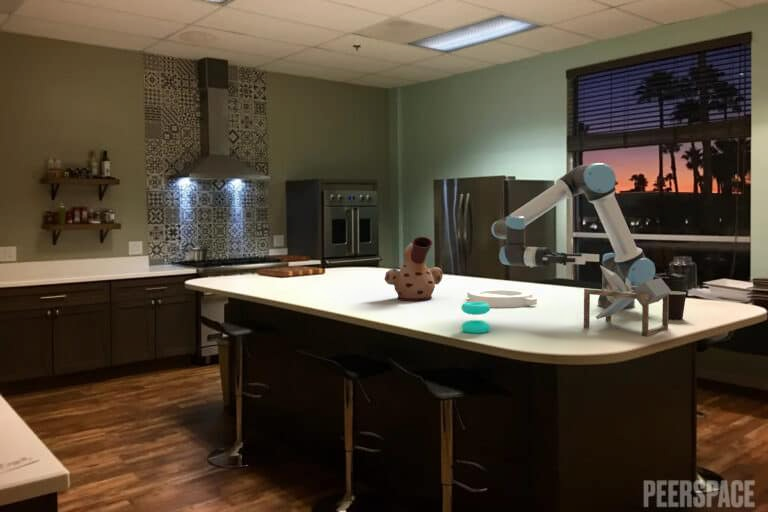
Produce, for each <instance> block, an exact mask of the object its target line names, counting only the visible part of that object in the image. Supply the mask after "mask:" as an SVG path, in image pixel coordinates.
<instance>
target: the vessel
mask: <svg viewBox="0 0 768 512" xmlns="http://www.w3.org/2000/svg"><path fill="white" fill-rule="evenodd" d="M432 246H433V241H432V239H430V238H428V237H426V236H417V237H415V238H414V239H412V242H410V243H409V244H408V245H407V246H406V247H405V248H404V250H403V257H404V263H403V265H402V267H401V268H400V270H398V269H396V268H391V269H389V270H387V271H386V272H385V276H384V281H385V282H386V283H387V284H388V285H391V286H393V287H394V291H395V293H396V294H397V298H396V299H397V300H400V301H406V302H410V301H411V302H414V301H416V302H418V301H427V300H431V299H432V298H433V296H432V295H433V293H434V290H435V288H436V285H440V283H441V282H442V279H443V276H444V274H443V271H442V269H441V268H440V267H438V266H433V267H430V268H429V267H428V266H427V264H426V258H427V255H428V253H429V251H430V249H431V247H432Z"/></svg>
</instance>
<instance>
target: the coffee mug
mask: <svg viewBox="0 0 768 512" xmlns="http://www.w3.org/2000/svg"><path fill="white" fill-rule="evenodd" d="M671 291H672V292H671V293H670V294H669V308H668V321H669V320H671V321H682V320H683V318H684V312H685V305H686V298H687V292H684V291H677V290H676V291H673V290H671Z"/></svg>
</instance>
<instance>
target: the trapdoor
mask: <svg viewBox="0 0 768 512" xmlns="http://www.w3.org/2000/svg"><path fill="white" fill-rule="evenodd" d="M636 287H637V288H636V289H634V290H633V291H629V292H628V293H640V294H649V305H651V304H655V303H659V302H660V301H661V300H663V298H664V297H665V296H667V295H668V294H670V293H671V292H672V291H673V290H671V289H670V287H669V286H668V285H667V284H666V283H665V281H664V280H663V279H662V278H661V277H658V278H655V279H654V278H653V279H652V280H649V281H645V282H643V283H642V284H641V285H639V286H636ZM634 300H635V301H636V300H637V302H638V303H639V304H640V306H642V303H643V299H637V298H626V297H621V298H620V299H618V300H617V301H616V302H614V303H613V304H612V305H610V306H609V307H608V308H607V309H606V308H605V309H603V310H602V311H601V312H600V313H599V314H597V315H596V316H595V319H596V320H599V319H603V318H606V317H607V316H610V315H611V316H614V315H616V314H617V313H619V312H620V311H621V310H623V309H625V308H624V307H626V306H627V305H628V304H630V303H631V302H632V301H634Z"/></svg>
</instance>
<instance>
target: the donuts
mask: <svg viewBox="0 0 768 512" xmlns="http://www.w3.org/2000/svg"><path fill="white" fill-rule="evenodd" d="M460 307H461V310H462V312H464V313H466V314H467V315H472V316H478V315H485V314H487V313H488V312H490V310H491V307H490V306H489V304H487V303H484V302H470V301H468V302H464V303H462V304H461V306H460ZM490 329H491V326H490V324H489V323H488V322H486V321H484V320H481V319H480V320H479V319H475V320H474V319H472V320H467V321H465V322H463V323H462V324H461V330H462V331H463V332H465V333H468V334H476V333H477V334H485V332H486V333H488V332H489V331H490Z"/></svg>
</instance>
